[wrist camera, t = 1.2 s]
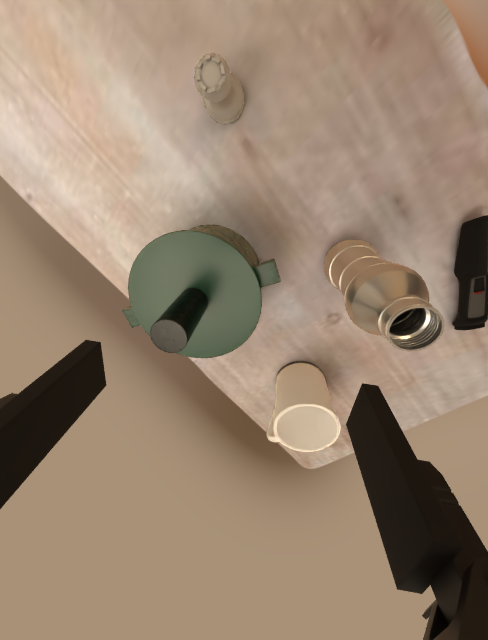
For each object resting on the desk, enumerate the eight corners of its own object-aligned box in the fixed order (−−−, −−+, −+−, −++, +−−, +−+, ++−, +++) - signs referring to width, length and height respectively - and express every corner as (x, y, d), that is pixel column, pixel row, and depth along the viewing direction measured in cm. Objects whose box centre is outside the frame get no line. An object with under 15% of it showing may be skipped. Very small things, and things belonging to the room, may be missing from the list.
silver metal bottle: (362, 288, 38) (441, 376, 20) (314, 278, 38) (350, 358, 20) (380, 241, 35) (491, 296, 17) (328, 231, 35) (385, 275, 17)
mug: (308, 349, 43) (317, 393, 34) (337, 386, 46) (353, 436, 36) (253, 380, 47) (248, 427, 37) (283, 413, 49) (285, 464, 40)
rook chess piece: (225, 63, 29) (209, 22, 22) (253, 101, 30) (247, 74, 23) (197, 100, 31) (174, 72, 23) (224, 134, 32) (210, 118, 25)
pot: (134, 250, 39) (93, 268, 30) (260, 201, 35) (256, 206, 26) (175, 331, 44) (150, 367, 35) (290, 297, 40) (295, 329, 31)
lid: (108, 256, 30) (45, 281, 21) (234, 207, 26) (216, 215, 18) (168, 364, 35) (136, 417, 27) (278, 335, 32) (280, 386, 24)
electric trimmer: (485, 209, 33) (505, 210, 30) (479, 323, 39) (495, 333, 36) (450, 218, 33) (467, 220, 31) (449, 328, 39) (463, 338, 36)
